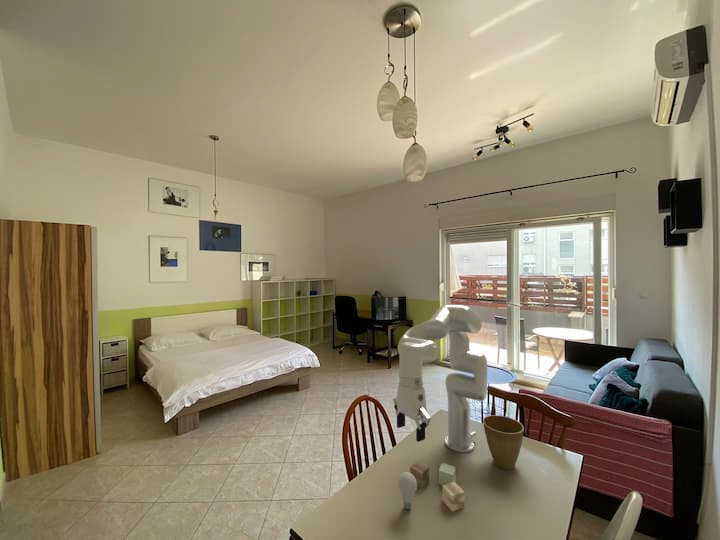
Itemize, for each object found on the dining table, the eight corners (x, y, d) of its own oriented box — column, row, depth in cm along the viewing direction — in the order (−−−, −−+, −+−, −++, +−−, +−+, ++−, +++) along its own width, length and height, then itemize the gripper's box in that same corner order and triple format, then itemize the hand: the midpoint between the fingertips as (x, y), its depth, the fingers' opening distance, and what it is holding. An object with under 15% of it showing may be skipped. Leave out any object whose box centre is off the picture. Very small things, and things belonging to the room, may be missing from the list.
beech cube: (454, 496, 99) (454, 481, 99) (464, 507, 95) (464, 491, 95) (442, 500, 98) (442, 485, 98) (452, 511, 93) (452, 495, 93)
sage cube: (442, 476, 109) (442, 462, 110) (455, 480, 107) (455, 467, 107) (438, 484, 105) (438, 470, 105) (453, 489, 103) (452, 475, 103)
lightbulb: (404, 498, 98) (404, 465, 99) (420, 507, 94) (420, 473, 95) (394, 509, 94) (394, 475, 94) (411, 519, 90) (411, 483, 90)
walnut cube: (417, 474, 111) (417, 460, 111) (429, 480, 107) (429, 466, 107) (410, 480, 107) (410, 467, 107) (422, 487, 104) (421, 473, 104)
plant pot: (514, 453, 124) (513, 415, 124) (531, 477, 109) (530, 434, 109) (478, 451, 125) (478, 413, 125) (490, 474, 110) (490, 432, 111)
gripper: (438, 387, 90) (438, 442, 89) (402, 371, 105) (402, 419, 104) (420, 391, 86) (420, 450, 85) (386, 375, 101) (385, 424, 100)
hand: (410, 433), depth 95 cm, fingers open, 9 cm apart
